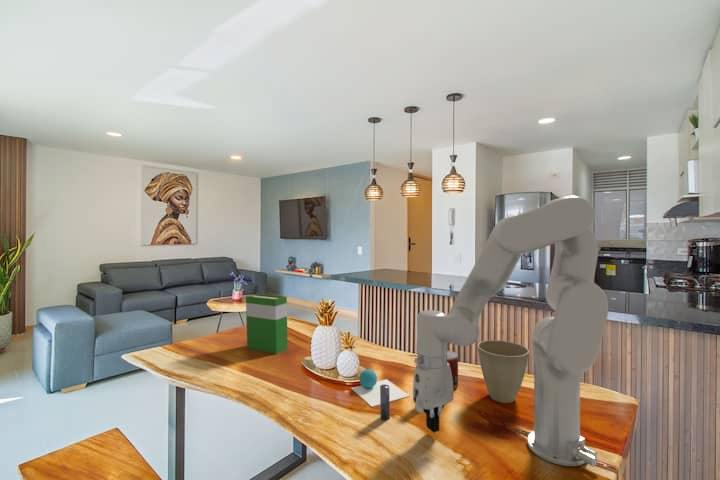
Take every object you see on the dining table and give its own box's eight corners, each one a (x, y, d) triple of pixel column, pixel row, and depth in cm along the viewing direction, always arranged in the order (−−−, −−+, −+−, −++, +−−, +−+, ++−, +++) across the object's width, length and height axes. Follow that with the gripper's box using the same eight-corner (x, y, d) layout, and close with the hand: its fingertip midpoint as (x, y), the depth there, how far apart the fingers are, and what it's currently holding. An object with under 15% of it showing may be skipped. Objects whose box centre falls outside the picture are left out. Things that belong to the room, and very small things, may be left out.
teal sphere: (373, 387, 120) (381, 385, 115) (358, 390, 117) (366, 389, 112) (369, 368, 122) (378, 366, 118) (354, 371, 119) (362, 369, 115)
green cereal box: (247, 348, 159) (245, 296, 158) (258, 343, 166) (257, 293, 165) (276, 354, 151) (275, 299, 150) (287, 348, 157) (286, 296, 157)
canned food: (459, 392, 113) (458, 358, 113) (434, 390, 115) (433, 357, 114) (457, 381, 121) (457, 350, 120) (433, 380, 122) (433, 349, 122)
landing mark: (409, 396, 111) (409, 395, 111) (371, 407, 104) (371, 406, 104) (386, 379, 123) (386, 379, 123) (351, 388, 117) (351, 388, 117)
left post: (391, 418, 98) (391, 387, 98) (383, 421, 97) (383, 389, 96) (386, 414, 100) (386, 383, 100) (378, 416, 99) (378, 385, 99)
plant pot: (503, 414, 99) (503, 359, 99) (467, 392, 113) (467, 343, 112) (540, 403, 105) (540, 351, 105) (502, 383, 119) (502, 337, 118)
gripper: (417, 370, 82) (418, 445, 83) (464, 358, 89) (464, 428, 90) (399, 360, 89) (400, 430, 90) (444, 350, 96) (445, 415, 97)
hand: (432, 429), depth 90 cm, fingers closed
